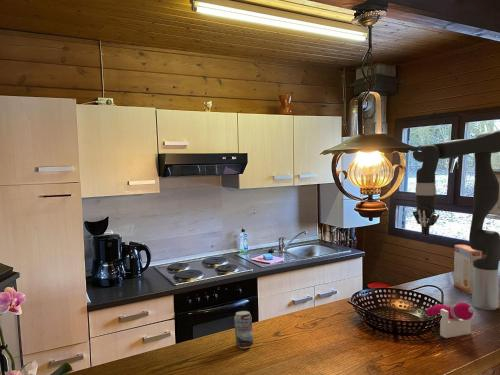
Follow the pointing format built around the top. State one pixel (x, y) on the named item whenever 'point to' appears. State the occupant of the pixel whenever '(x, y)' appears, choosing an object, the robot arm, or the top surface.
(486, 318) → the top surface
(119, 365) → the top surface
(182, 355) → the top surface
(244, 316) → the beverage can
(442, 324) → the u rest
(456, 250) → the cracker box
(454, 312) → the pepper mill
